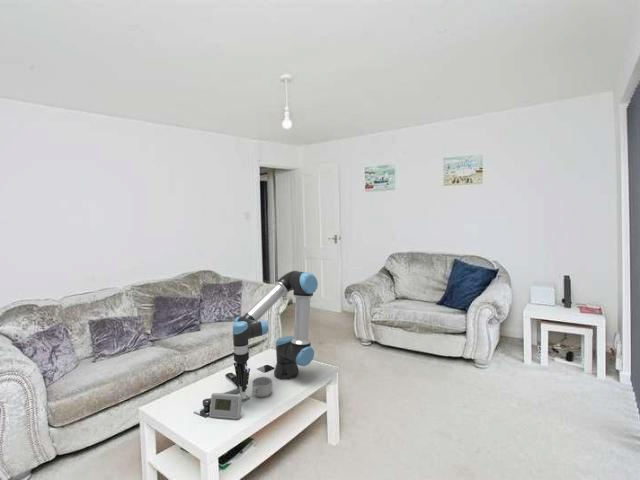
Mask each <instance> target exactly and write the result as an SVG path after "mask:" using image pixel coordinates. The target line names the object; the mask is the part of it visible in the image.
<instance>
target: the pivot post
mask: <svg viewBox="0 0 640 480" xmlns="http://www.w3.org/2000/svg"><path fill="white" fill-rule="evenodd" d="M209 413H210V406H206V407H205V406H203V409H201V410H200V411H199V415H200V416H201V417H204V416H206V417H210V416H209Z"/></svg>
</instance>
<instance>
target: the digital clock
mask: <svg viewBox="0 0 640 480" xmlns="http://www.w3.org/2000/svg"><path fill="white" fill-rule="evenodd" d="M210 398H211V404H210V413H209V416H208V417H210V418H216V419H225V420H226V419H227V420H240V418H241V412H242V403H243V402H242V396H241V395H240V394H237V395H236V394H227V393H225V392H220V393H218V392H213V393H211V397H210Z"/></svg>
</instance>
